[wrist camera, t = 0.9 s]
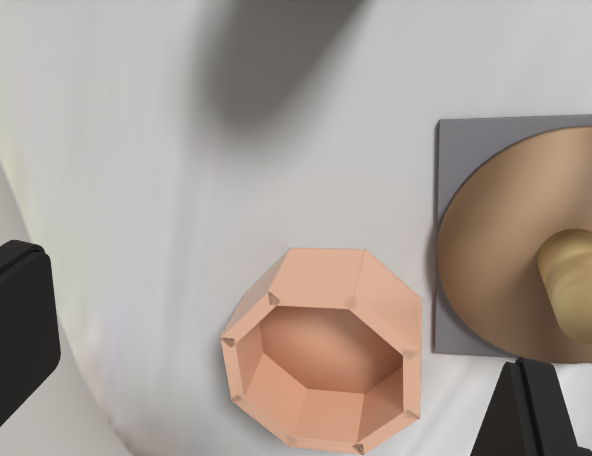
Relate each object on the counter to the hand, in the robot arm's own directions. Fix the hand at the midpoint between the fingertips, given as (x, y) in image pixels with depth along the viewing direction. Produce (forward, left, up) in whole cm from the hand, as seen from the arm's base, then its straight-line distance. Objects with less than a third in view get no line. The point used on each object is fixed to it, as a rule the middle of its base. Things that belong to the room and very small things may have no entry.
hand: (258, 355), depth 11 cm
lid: (-12, +10, -25) cm, 29 cm away
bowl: (+4, +17, -25) cm, 31 cm away
